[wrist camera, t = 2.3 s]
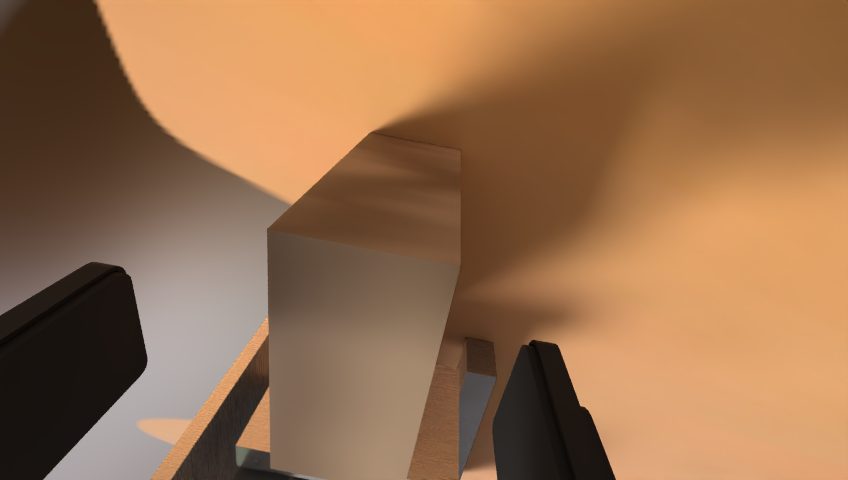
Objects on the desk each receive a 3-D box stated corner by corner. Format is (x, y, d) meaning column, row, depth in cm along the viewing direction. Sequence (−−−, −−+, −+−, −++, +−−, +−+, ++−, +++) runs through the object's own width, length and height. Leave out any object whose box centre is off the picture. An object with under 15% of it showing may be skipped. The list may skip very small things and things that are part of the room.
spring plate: (459, 368, 20) (458, 488, 14) (448, 404, 21) (444, 528, 16) (296, 337, 20) (235, 445, 14) (295, 375, 21) (238, 488, 16)
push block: (460, 150, 17) (460, 266, 8) (428, 298, 20) (402, 493, 11) (370, 132, 17) (267, 229, 8) (353, 284, 20) (270, 468, 11)
